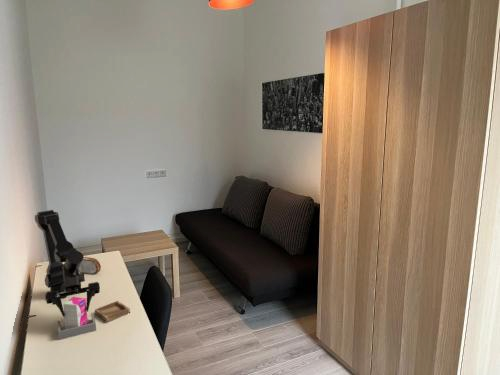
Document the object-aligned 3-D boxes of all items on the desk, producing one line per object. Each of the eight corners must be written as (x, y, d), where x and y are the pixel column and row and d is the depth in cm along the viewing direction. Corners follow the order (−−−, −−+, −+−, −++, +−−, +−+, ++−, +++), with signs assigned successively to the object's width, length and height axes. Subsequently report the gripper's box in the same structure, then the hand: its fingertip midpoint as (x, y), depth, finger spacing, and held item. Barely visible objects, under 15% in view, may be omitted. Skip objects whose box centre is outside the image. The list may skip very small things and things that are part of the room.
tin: (101, 273, 193) (100, 258, 191) (97, 276, 190) (96, 260, 188) (78, 270, 197) (77, 255, 196) (74, 272, 195) (72, 257, 193)
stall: (58, 328, 142) (57, 320, 142) (94, 319, 148) (93, 312, 147) (59, 339, 135) (58, 332, 134) (96, 330, 140) (95, 323, 140)
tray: (95, 314, 152) (94, 309, 152) (117, 305, 159) (117, 300, 159) (106, 322, 145) (106, 318, 145) (130, 312, 153) (129, 308, 152)
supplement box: (79, 333, 139) (76, 305, 136) (65, 331, 140) (62, 303, 138) (88, 325, 144) (86, 297, 142) (75, 323, 145) (72, 296, 143)
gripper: (42, 272, 137) (45, 313, 129) (97, 262, 145) (102, 300, 138) (45, 283, 145) (48, 323, 138) (96, 274, 154) (102, 310, 146)
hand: (75, 313), depth 140 cm, fingers closed on supplement box, 8 cm apart
